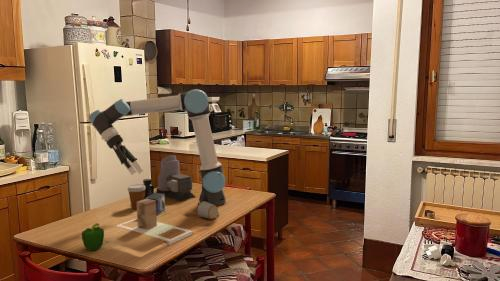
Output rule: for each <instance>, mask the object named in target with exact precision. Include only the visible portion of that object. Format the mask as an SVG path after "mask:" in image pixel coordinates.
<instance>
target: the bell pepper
mask: <svg viewBox="0 0 500 281" xmlns="http://www.w3.org/2000/svg"><path fill="white" fill-rule="evenodd" d="M81 239H82V243H83V245H84V248H85V249H86V250H88V251H97V250H99V249H100V248H102V247H103V242H104V239H105V230H104V228H102V227H100V223H98V222H97V223H95V224H93V225H92V226H91V228H89V227H87V228H86V229H84V230H82V232H81Z"/></svg>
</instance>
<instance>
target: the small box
mask: <svg viewBox="0 0 500 281" xmlns="http://www.w3.org/2000/svg"><path fill="white" fill-rule="evenodd" d="M165 197H166V196H165V194H161V193H155V192H154V193H153V194H152V195H150V196H148V197H146V198H145V199H150V200H155V201H156V217H158V216H159V215H160V214H162V213H163V212H166V198H165Z"/></svg>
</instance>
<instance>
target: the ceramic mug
mask: <svg viewBox="0 0 500 281" xmlns="http://www.w3.org/2000/svg"><path fill="white" fill-rule="evenodd" d="M197 214H198V216H199V217H202V218H205V219H207V220H208V219H209V220H214V219H216V218H217V216H220V214H221V212H220V211H219V208H218V206H215V205H213V204H210V203H208V202H205V201H204V202H202V203H200V204H199V205H198V206H197Z"/></svg>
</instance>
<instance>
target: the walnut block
mask: <svg viewBox="0 0 500 281" xmlns="http://www.w3.org/2000/svg"><path fill="white" fill-rule="evenodd" d="M136 214H137V215H136V218H137V226H138V227H139V228H142V229H146V230H148V229H150V228H153V227H155V226H157V222H158V220H157V216H156V201H155V200H150V199H144V200H141V201H138V202H137V209H136Z"/></svg>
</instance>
